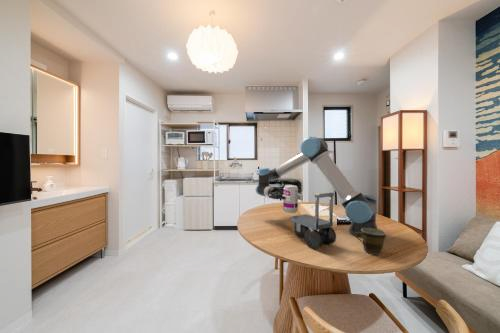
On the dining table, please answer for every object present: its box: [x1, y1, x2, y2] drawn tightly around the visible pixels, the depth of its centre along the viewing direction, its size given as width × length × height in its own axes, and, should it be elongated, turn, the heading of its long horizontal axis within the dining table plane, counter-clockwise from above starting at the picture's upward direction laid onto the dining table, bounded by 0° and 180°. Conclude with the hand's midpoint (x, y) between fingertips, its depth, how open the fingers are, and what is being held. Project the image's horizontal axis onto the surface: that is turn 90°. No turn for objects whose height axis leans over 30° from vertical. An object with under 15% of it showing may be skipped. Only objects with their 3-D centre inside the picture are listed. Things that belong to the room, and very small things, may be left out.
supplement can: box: [282, 184, 299, 214], centre depth 124 cm, size 8×8×15 cm
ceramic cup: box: [354, 228, 387, 256], centre depth 99 cm, size 13×10×10 cm
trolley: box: [289, 192, 337, 250], centre depth 111 cm, size 22×12×26 cm, turn 31°
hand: (296, 198), depth 120 cm, fingers closed on supplement can, 8 cm apart
